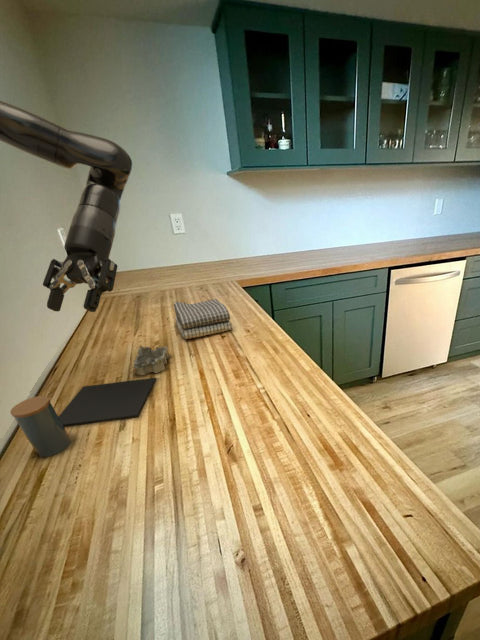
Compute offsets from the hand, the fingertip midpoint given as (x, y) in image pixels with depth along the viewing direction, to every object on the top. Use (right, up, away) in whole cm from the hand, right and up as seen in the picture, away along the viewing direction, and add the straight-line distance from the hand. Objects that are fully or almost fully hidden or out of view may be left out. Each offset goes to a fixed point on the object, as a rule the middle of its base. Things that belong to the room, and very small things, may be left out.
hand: (70, 310), depth 64 cm
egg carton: (+6, -10, +24) cm, 27 cm away
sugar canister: (-2, -26, -2) cm, 26 cm away
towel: (+13, +3, +44) cm, 46 cm away
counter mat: (+2, -18, +10) cm, 21 cm away
